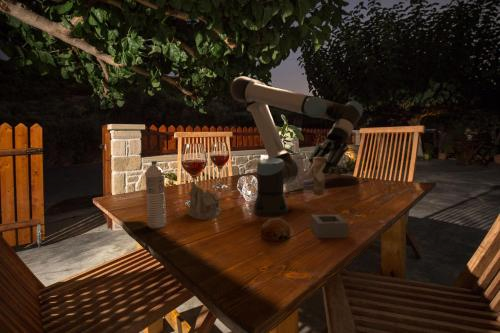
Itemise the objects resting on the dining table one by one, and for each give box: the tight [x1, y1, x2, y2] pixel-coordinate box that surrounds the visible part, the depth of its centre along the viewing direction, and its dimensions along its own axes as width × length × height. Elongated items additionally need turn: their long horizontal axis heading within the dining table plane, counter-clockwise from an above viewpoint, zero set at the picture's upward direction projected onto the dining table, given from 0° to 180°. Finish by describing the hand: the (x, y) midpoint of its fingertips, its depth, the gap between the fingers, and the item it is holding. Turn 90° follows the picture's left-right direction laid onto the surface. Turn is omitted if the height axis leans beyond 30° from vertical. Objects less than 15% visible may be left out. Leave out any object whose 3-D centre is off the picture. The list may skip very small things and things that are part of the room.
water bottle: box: [144, 160, 167, 230], centre depth 107 cm, size 7×7×25 cm
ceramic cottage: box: [188, 180, 222, 221], centre depth 124 cm, size 16×16×15 cm
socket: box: [310, 213, 349, 239], centre depth 99 cm, size 10×10×5 cm
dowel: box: [312, 157, 325, 196], centre depth 107 cm, size 4×4×14 cm
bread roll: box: [260, 217, 291, 242], centre depth 96 cm, size 10×10×8 cm
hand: (312, 178), depth 104 cm, fingers closed on dowel, 4 cm apart
